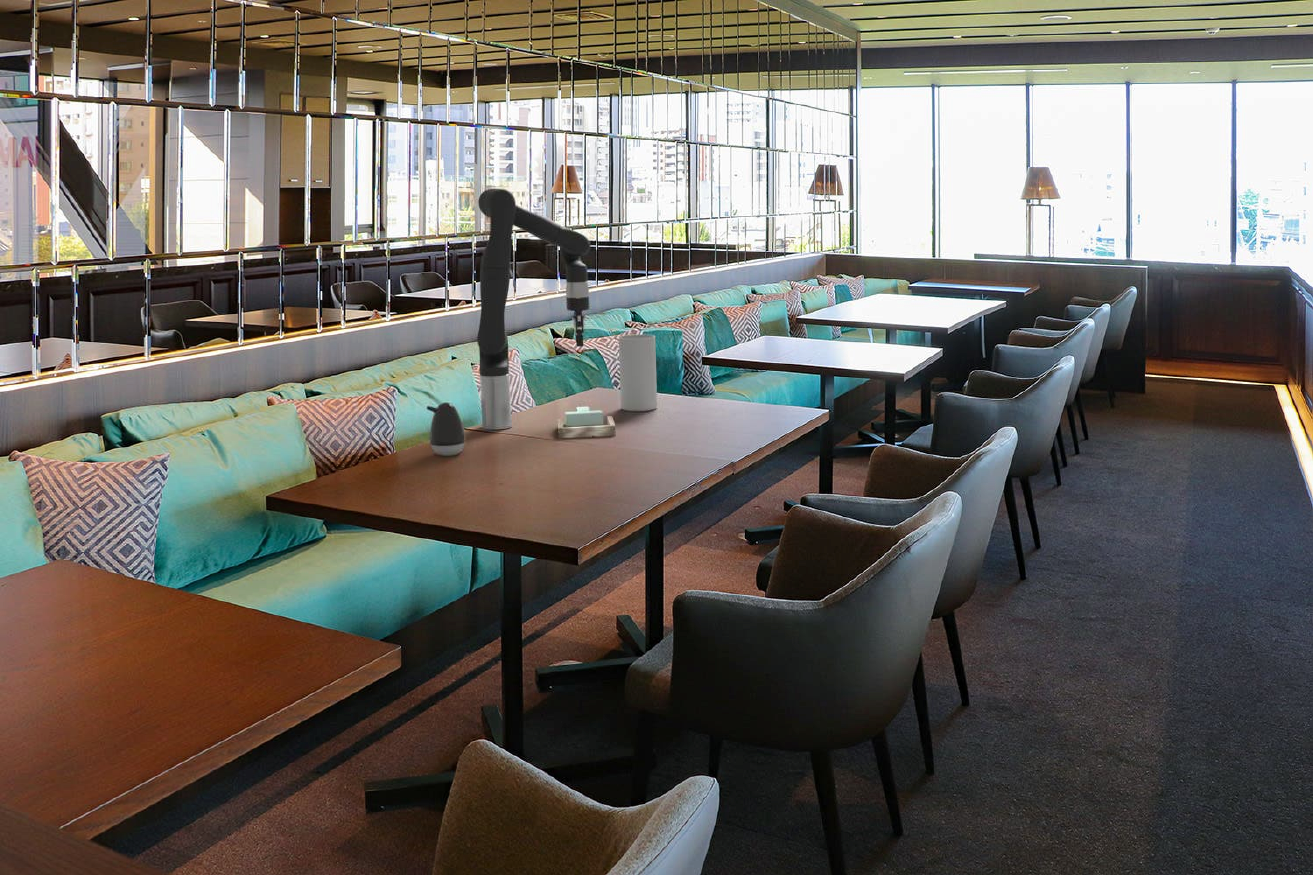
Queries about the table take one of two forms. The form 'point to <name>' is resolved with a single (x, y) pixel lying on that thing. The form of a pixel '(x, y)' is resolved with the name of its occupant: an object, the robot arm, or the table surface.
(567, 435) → the shallow wooden tray
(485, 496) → the table surface
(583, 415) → the t block
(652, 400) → the cylinder vase
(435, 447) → the pump dispenser
